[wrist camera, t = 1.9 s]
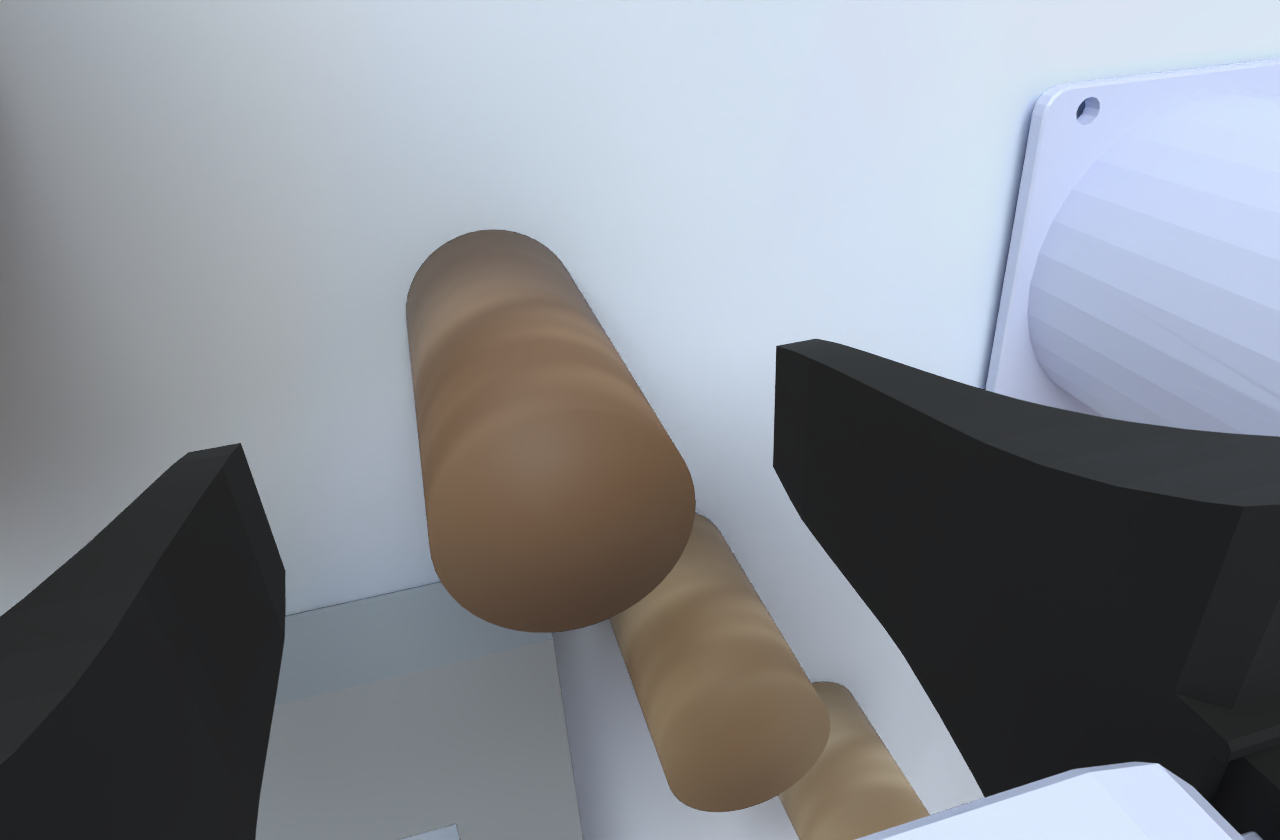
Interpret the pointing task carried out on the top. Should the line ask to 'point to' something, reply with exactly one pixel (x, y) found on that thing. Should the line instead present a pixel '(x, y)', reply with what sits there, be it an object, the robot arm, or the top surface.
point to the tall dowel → (536, 443)
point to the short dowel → (850, 779)
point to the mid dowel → (719, 682)
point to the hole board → (416, 727)
